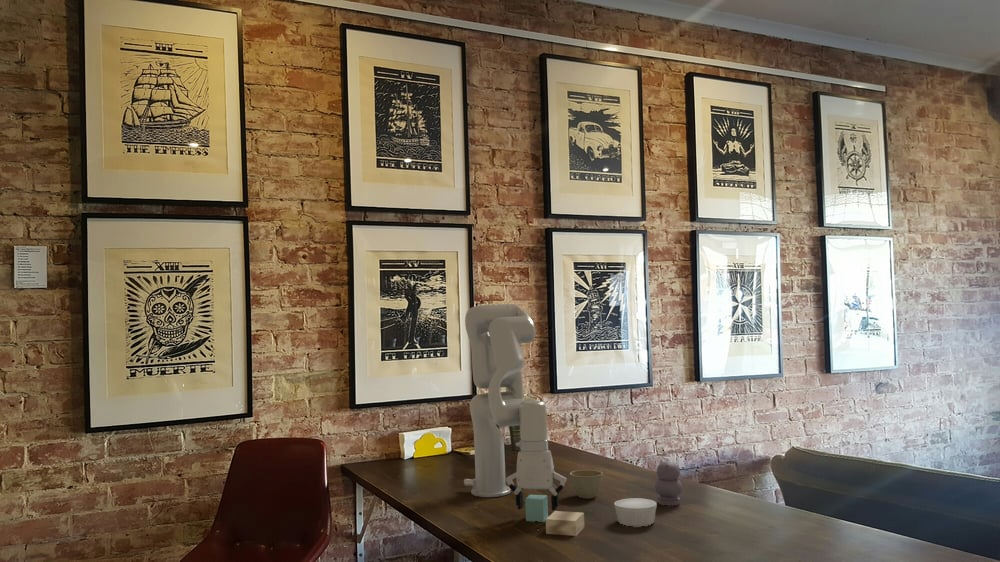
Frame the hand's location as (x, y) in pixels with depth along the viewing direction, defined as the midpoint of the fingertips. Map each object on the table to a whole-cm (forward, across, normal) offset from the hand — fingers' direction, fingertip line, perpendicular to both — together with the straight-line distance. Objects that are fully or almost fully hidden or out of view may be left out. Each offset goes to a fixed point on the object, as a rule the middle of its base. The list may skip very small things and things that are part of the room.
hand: (537, 508), depth 204 cm
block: (+3, 0, 0) cm, 3 cm away
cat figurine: (+3, +34, +22) cm, 41 cm away
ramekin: (+3, +27, +1) cm, 27 cm away
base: (+3, +10, -9) cm, 13 cm away
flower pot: (+3, +9, +26) cm, 28 cm away
